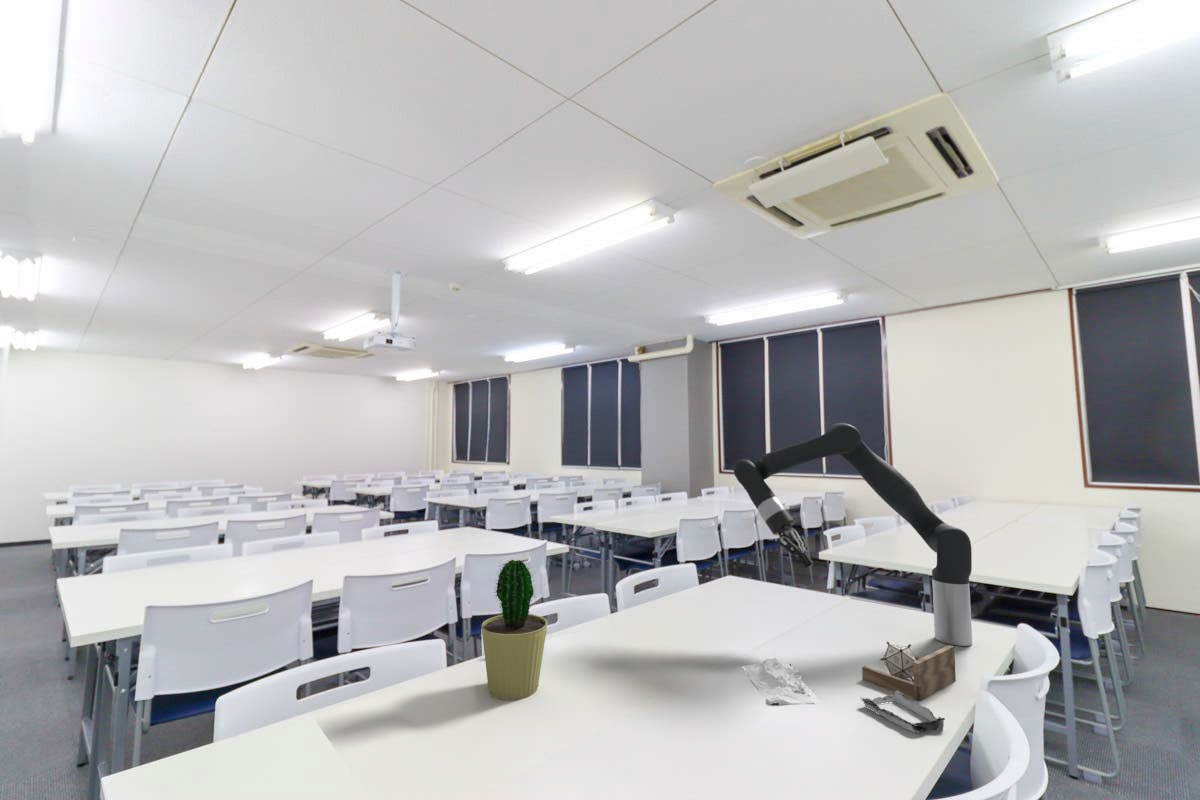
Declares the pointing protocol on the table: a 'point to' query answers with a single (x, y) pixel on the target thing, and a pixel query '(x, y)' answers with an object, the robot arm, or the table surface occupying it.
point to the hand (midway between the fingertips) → (810, 566)
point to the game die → (899, 661)
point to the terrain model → (779, 683)
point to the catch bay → (919, 675)
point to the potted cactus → (514, 637)
